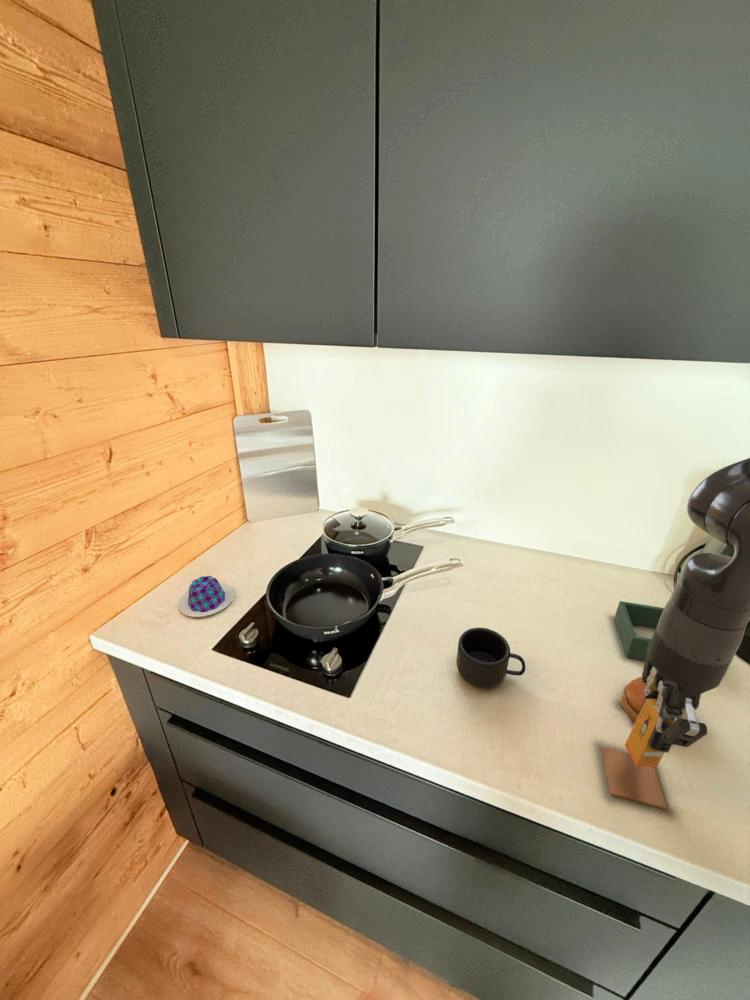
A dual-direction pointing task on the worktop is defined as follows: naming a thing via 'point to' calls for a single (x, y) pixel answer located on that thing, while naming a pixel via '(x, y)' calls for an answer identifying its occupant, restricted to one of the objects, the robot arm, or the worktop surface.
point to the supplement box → (644, 736)
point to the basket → (636, 616)
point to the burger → (633, 698)
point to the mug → (484, 658)
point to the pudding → (205, 597)
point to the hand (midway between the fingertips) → (652, 731)
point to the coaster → (632, 779)
